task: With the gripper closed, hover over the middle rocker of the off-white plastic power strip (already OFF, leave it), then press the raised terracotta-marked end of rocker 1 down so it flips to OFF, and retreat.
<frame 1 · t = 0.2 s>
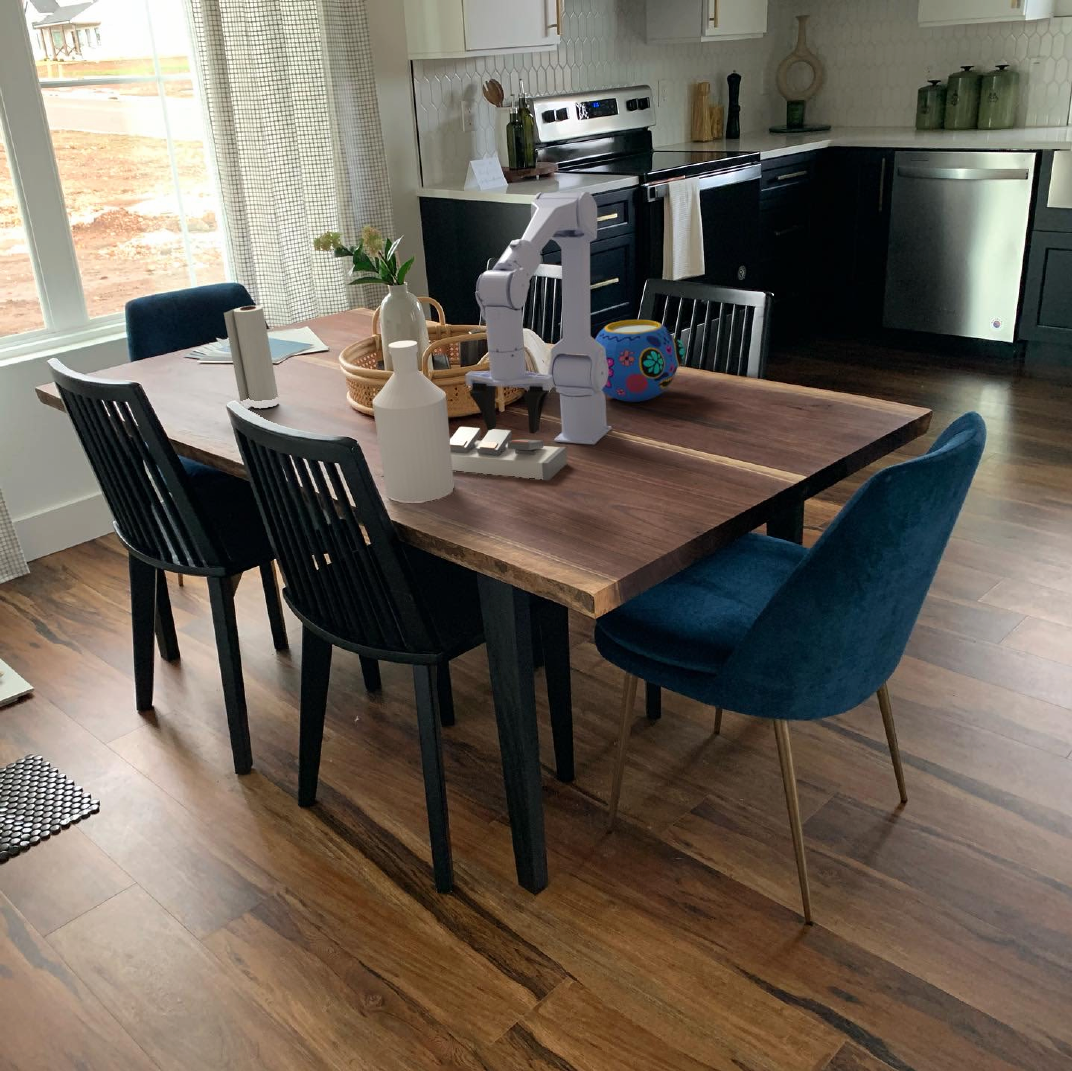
hand: (513, 429, 173), 10 cm above the table, fingers open, 7 cm apart
rocker 2: (494, 441, 185), point 5 cm above the table, hinge at 15.0°
ceramic pot: (635, 399, 219), on the table
power strip: (496, 466, 187), on the table
bottle: (420, 491, 179), on the table
rocker 1: (525, 444, 183), point 5 cm above the table, hinge at -15.0°
rocker 3: (463, 439, 188), point 5 cm above the table, hinge at 15.0°
paper towel roll: (262, 407, 232), on the table
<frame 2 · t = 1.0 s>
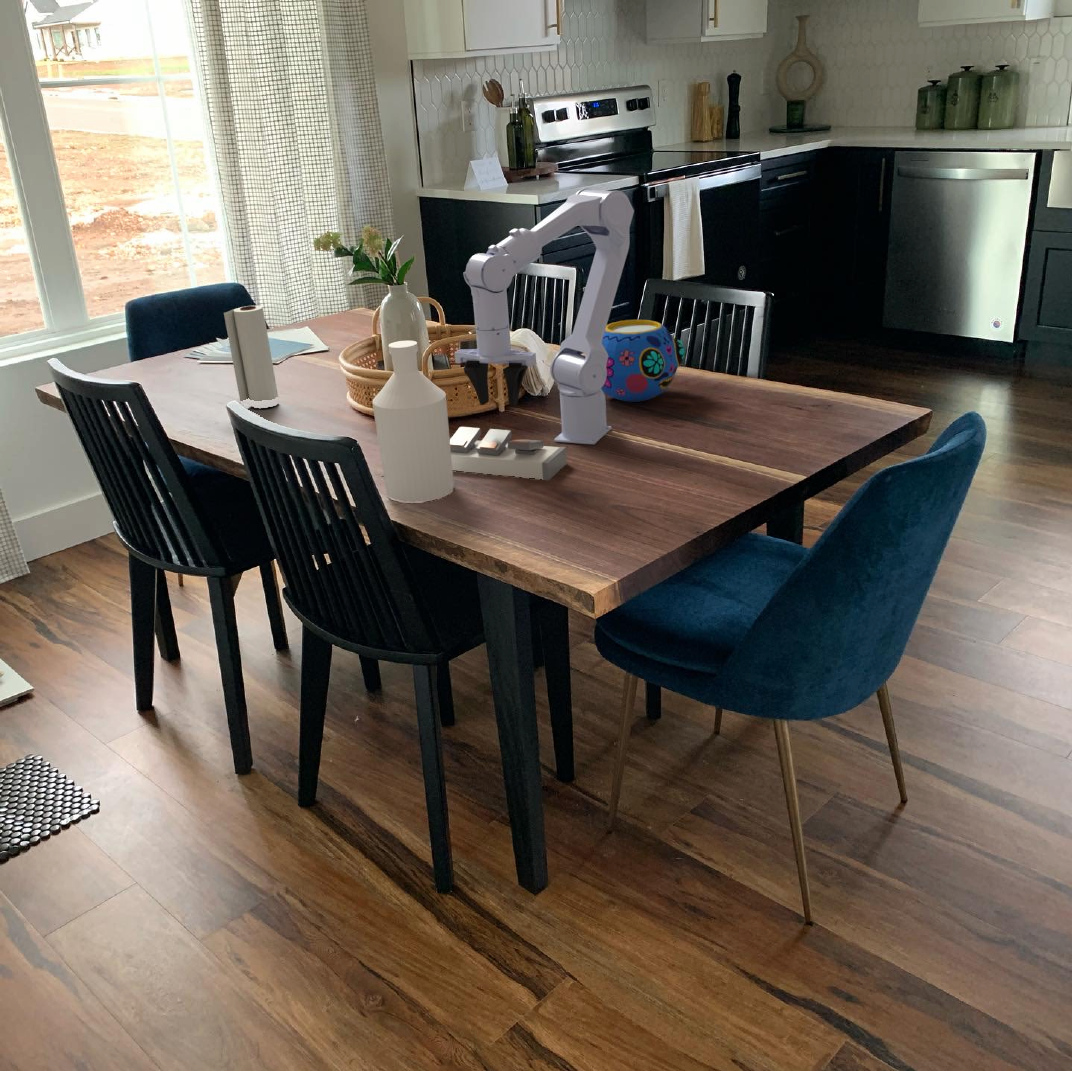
hand: (499, 404, 186), 10 cm above the table, fingers open, 5 cm apart
nothing on the table moved.
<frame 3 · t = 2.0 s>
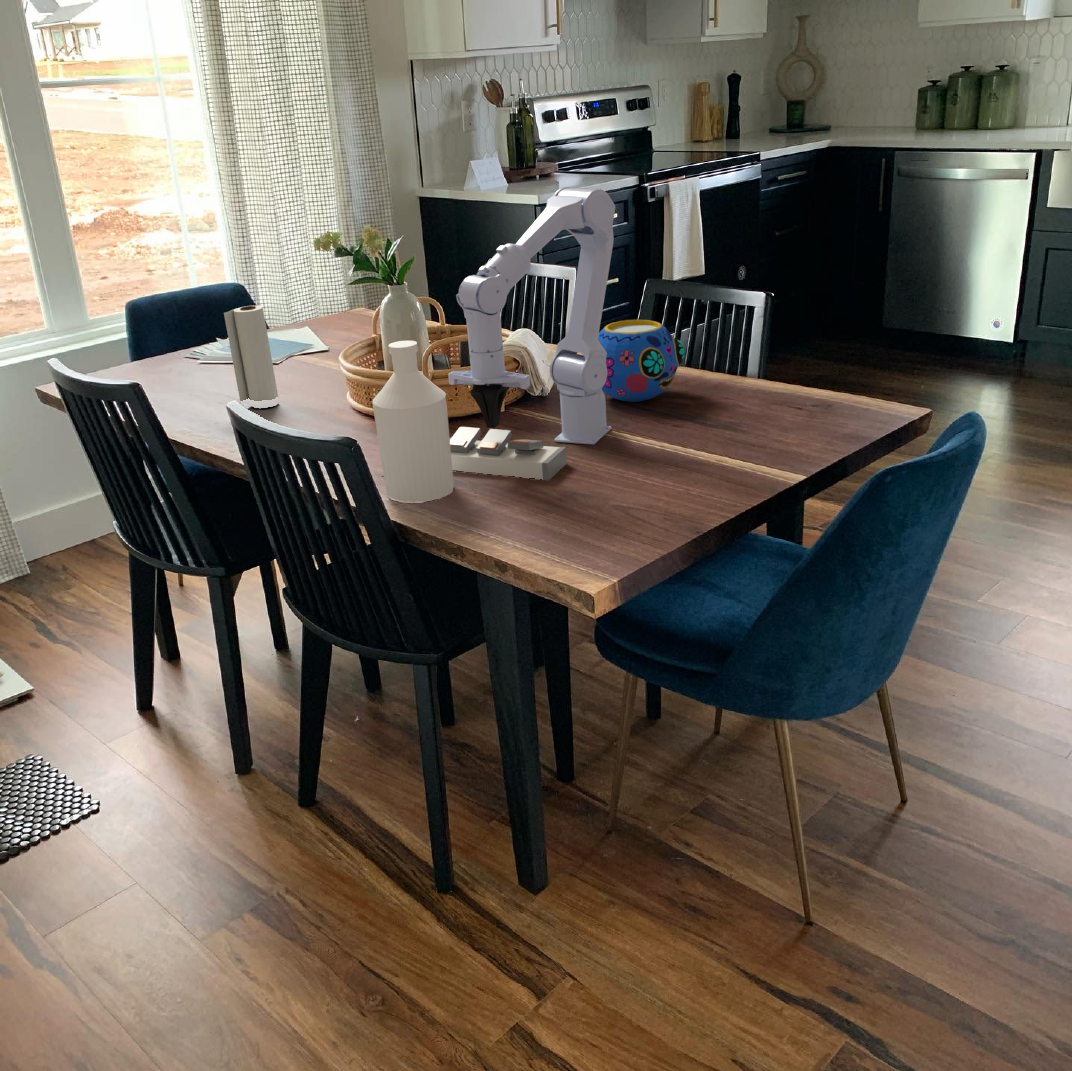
hand: (492, 426, 184), 7 cm above the table, fingers closed
nothing on the table moved.
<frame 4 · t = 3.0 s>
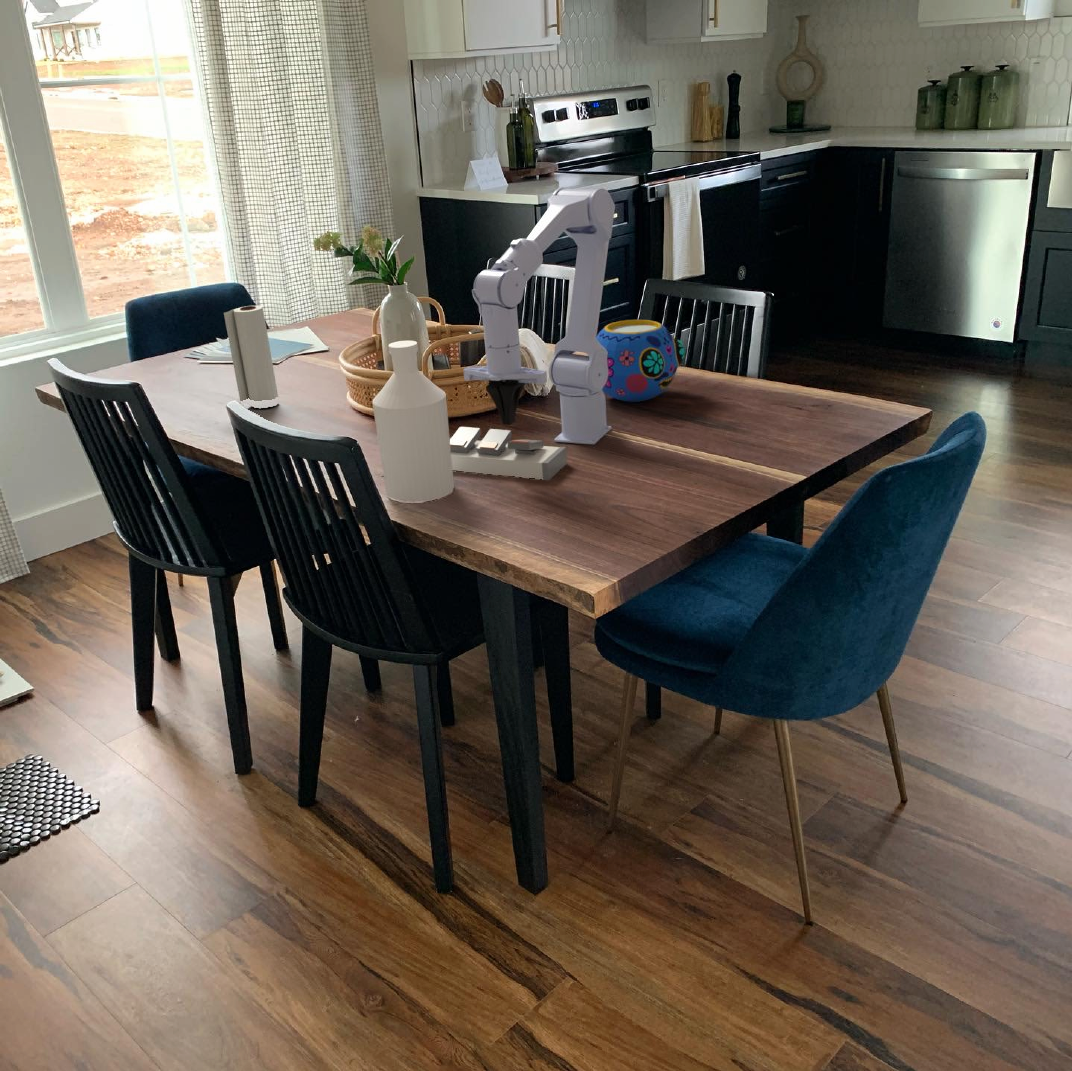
hand: (508, 422, 181), 9 cm above the table, fingers closed
nothing on the table moved.
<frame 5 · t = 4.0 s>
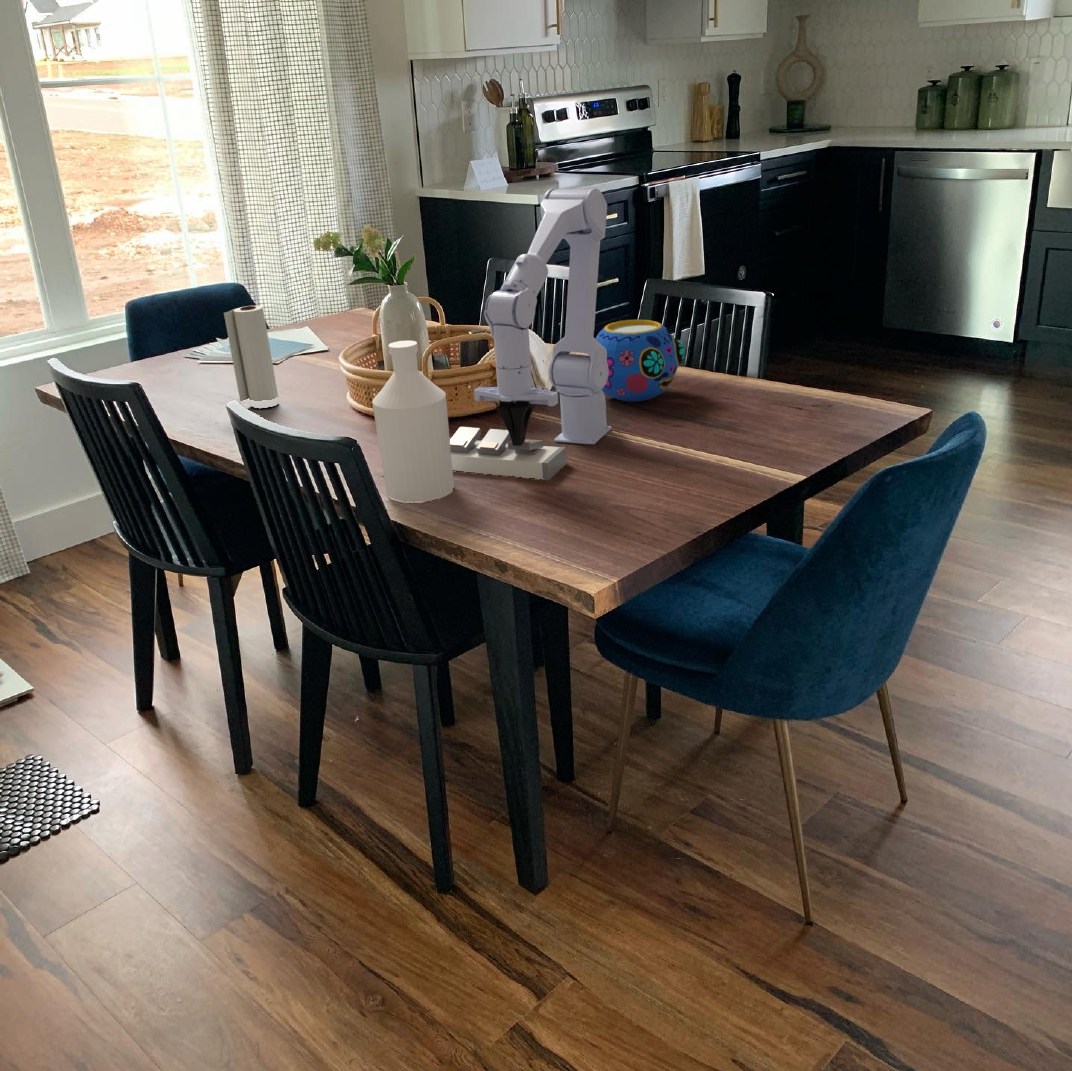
hand: (518, 443, 180), 6 cm above the table, fingers closed, pressing on rocker 1
rocker 1: (525, 444, 183), point 5 cm above the table, hinge at -14.0°, touching gripper
everything else where it was.
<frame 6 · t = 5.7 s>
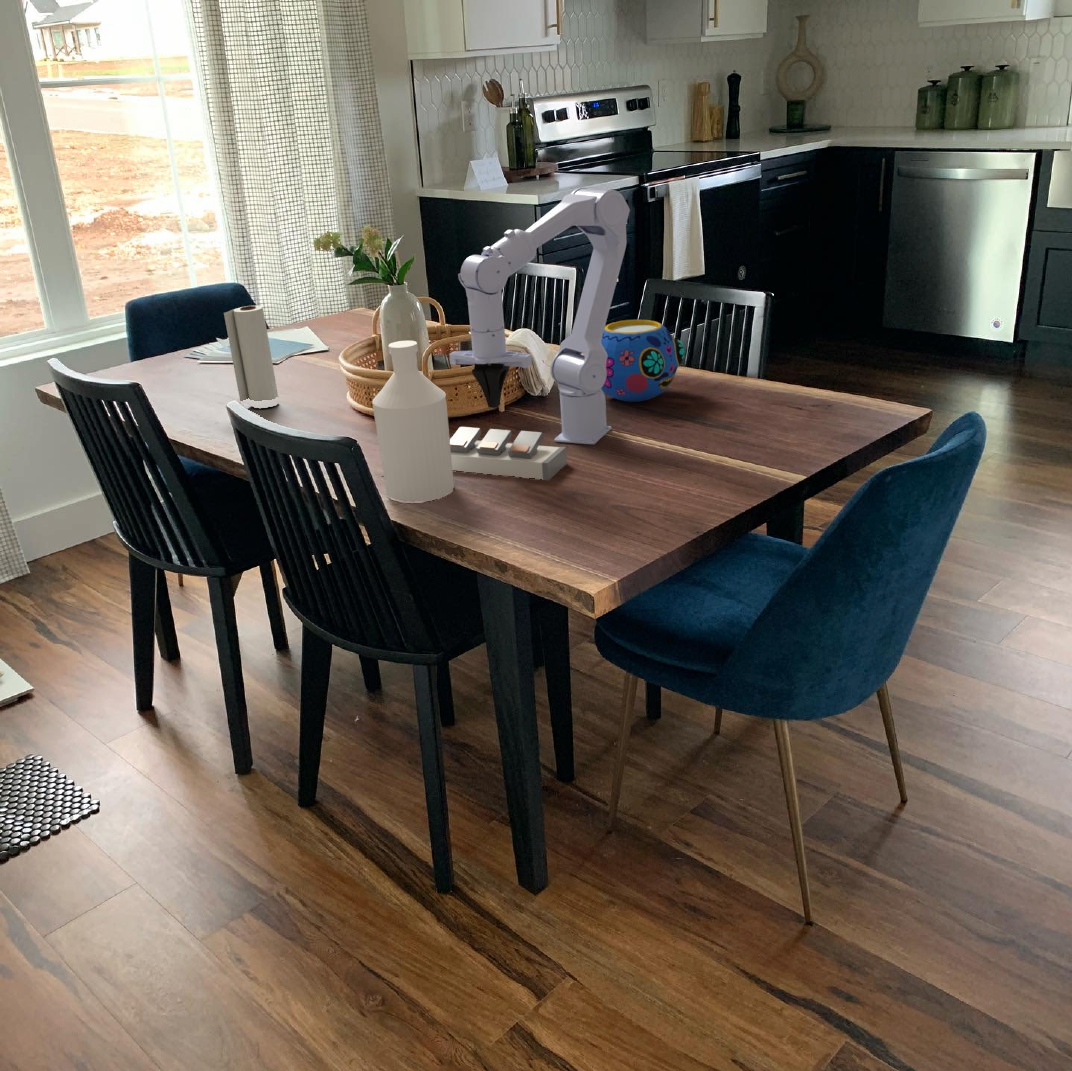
hand: (494, 405, 185), 10 cm above the table, fingers closed
rocker 1: (525, 444, 183), point 5 cm above the table, hinge at 17.6°
everything else where it was.
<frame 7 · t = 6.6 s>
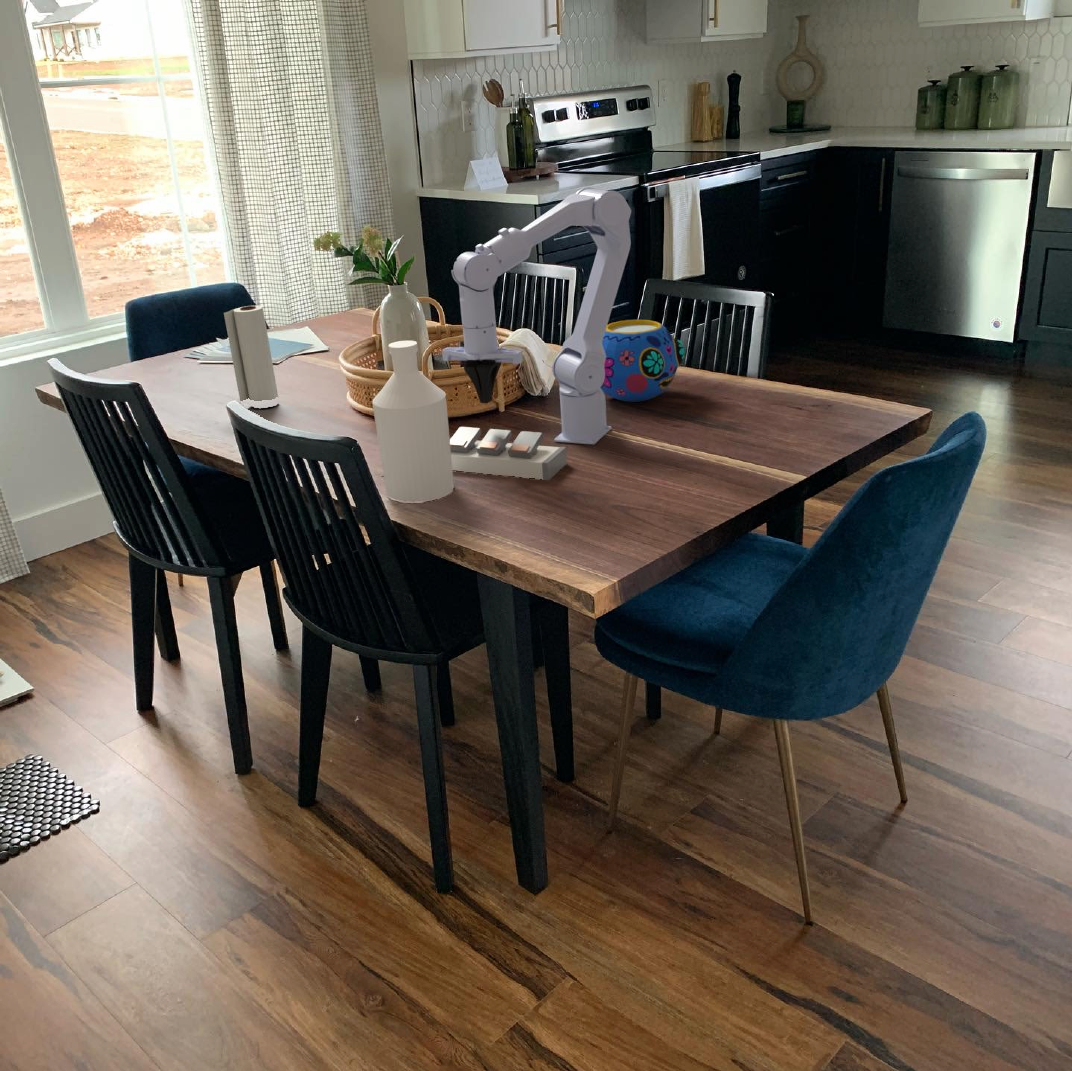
hand: (486, 401, 188), 10 cm above the table, fingers closed
rocker 1: (525, 444, 183), point 5 cm above the table, hinge at 15.9°
everything else where it was.
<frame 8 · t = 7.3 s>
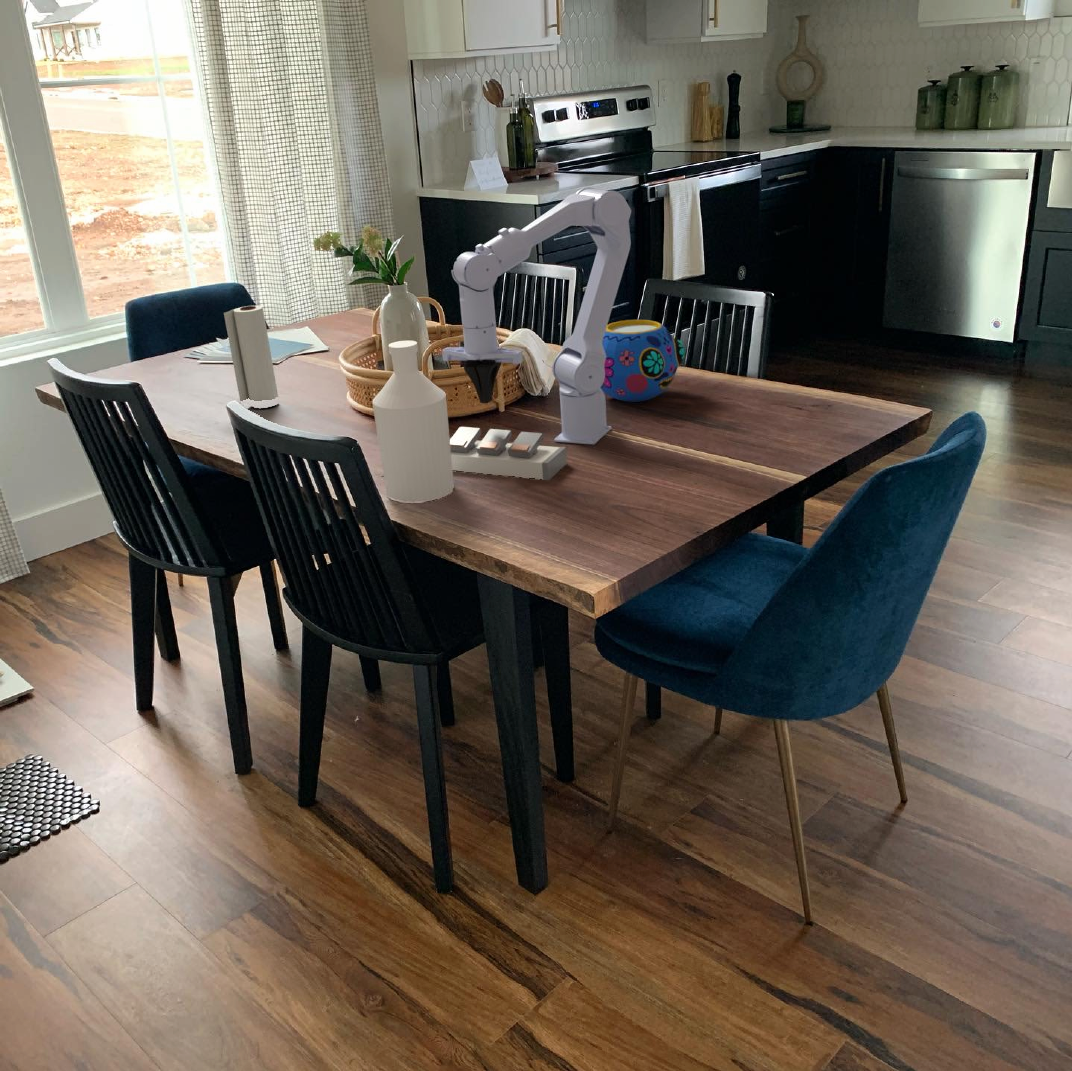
hand: (486, 401, 188), 10 cm above the table, fingers closed
rocker 1: (525, 444, 183), point 5 cm above the table, hinge at 13.1°
everything else where it was.
at the end: rocker 1 at +13° (first picture: -15°); rocker 2 at +15° (first picture: +15°); rocker 3 at +15° (first picture: +15°) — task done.
